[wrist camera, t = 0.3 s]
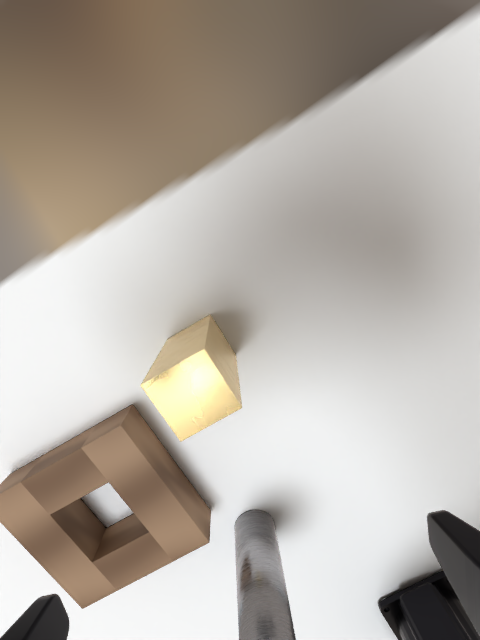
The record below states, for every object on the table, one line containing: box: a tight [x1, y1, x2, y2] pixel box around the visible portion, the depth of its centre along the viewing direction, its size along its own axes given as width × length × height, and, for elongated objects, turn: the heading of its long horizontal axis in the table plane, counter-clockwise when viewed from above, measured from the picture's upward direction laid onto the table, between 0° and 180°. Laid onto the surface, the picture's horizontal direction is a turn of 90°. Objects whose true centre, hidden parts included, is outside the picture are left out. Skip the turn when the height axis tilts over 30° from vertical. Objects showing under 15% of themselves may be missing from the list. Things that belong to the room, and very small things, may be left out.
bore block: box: [0, 404, 211, 609], centre depth 22 cm, size 10×10×3 cm
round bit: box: [235, 510, 296, 640], centre depth 20 cm, size 3×3×8 cm
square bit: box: [140, 314, 242, 441], centre depth 18 cm, size 3×3×7 cm
